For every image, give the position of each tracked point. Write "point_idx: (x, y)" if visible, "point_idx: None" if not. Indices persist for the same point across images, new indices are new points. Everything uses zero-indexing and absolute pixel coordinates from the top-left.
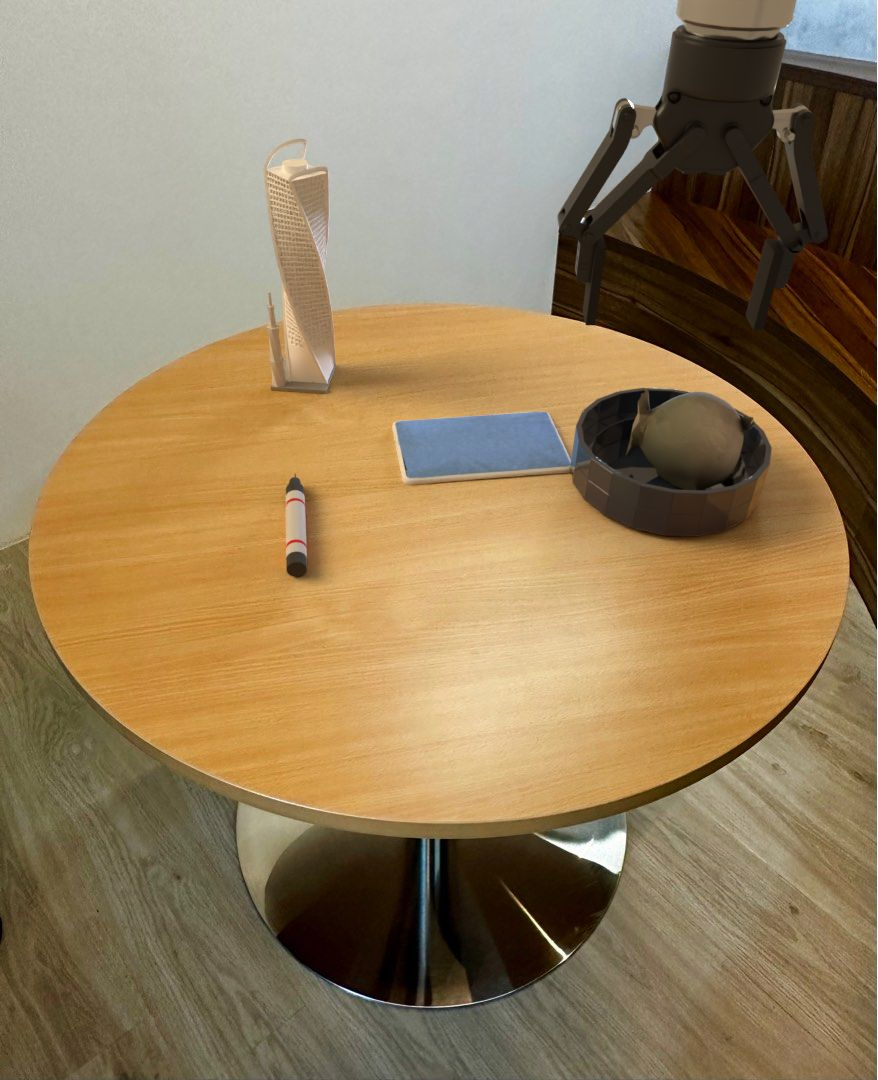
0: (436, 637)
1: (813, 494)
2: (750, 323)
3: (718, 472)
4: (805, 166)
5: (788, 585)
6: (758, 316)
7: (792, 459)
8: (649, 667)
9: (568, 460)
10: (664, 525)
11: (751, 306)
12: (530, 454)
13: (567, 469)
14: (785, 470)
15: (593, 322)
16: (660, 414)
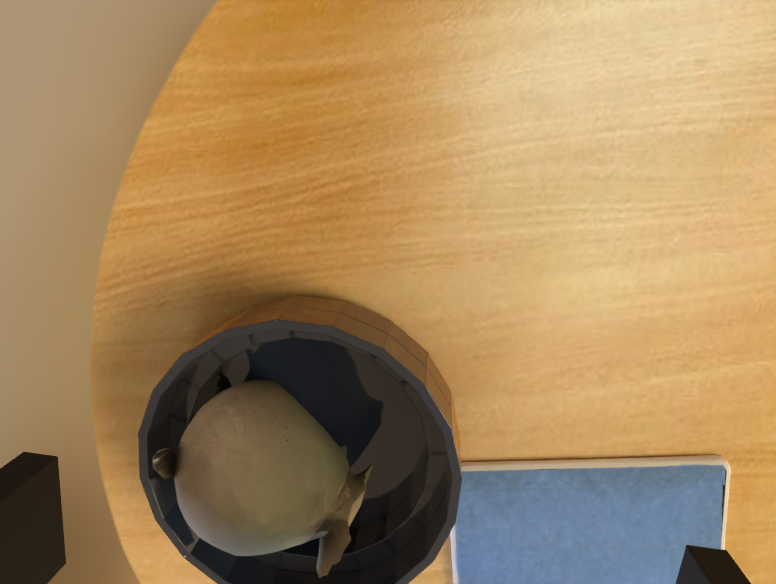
0: (754, 98)
1: (103, 384)
2: (58, 503)
3: (240, 385)
4: None
5: (191, 189)
6: (6, 490)
7: (112, 463)
8: (439, 22)
9: None
10: (347, 307)
11: (21, 574)
12: (510, 505)
13: None
14: (129, 440)
15: (699, 556)
16: (313, 510)
